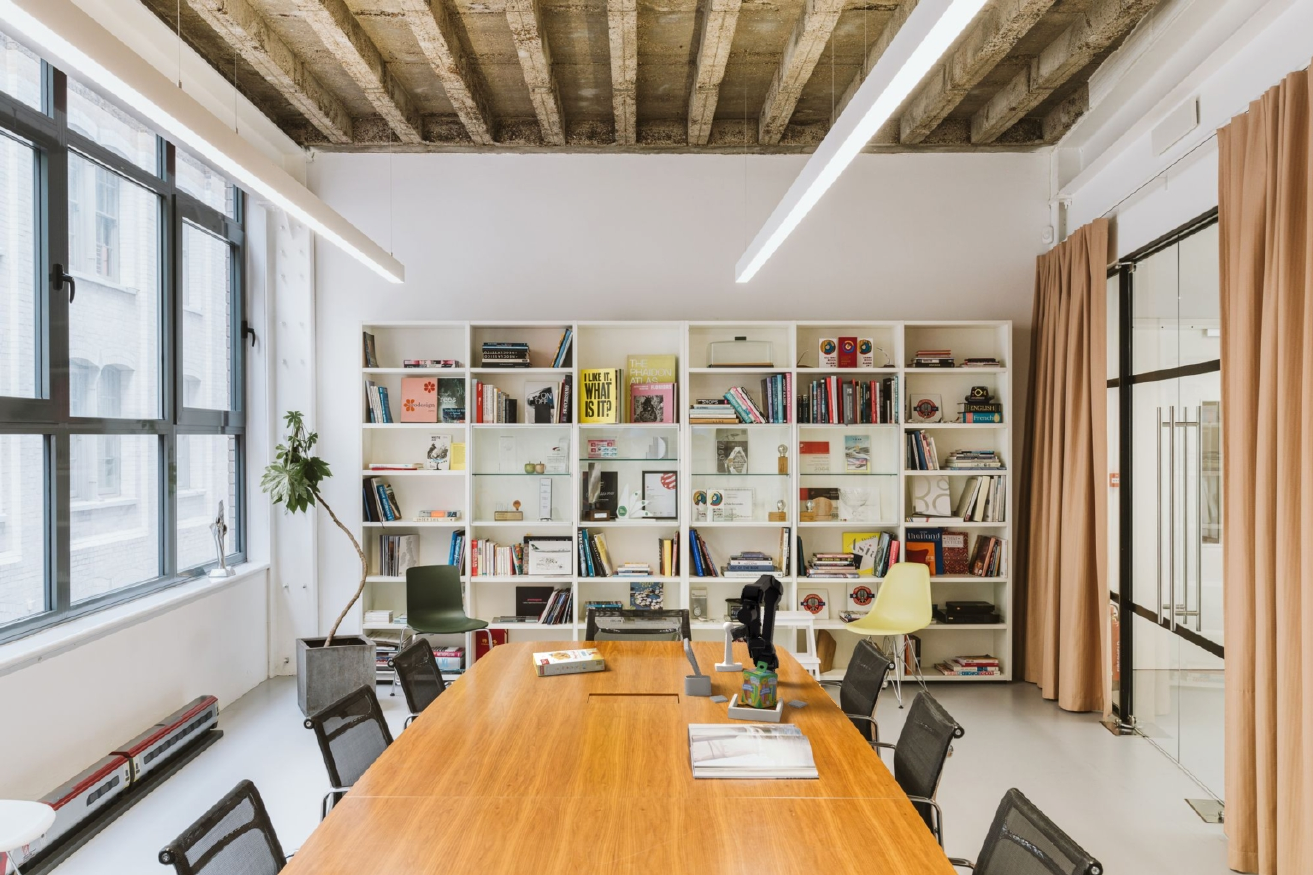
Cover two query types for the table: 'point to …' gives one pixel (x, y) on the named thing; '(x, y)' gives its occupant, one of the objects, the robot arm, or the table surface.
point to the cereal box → (568, 661)
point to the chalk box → (759, 687)
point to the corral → (754, 712)
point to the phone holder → (695, 676)
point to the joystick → (728, 653)
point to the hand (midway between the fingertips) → (753, 661)
